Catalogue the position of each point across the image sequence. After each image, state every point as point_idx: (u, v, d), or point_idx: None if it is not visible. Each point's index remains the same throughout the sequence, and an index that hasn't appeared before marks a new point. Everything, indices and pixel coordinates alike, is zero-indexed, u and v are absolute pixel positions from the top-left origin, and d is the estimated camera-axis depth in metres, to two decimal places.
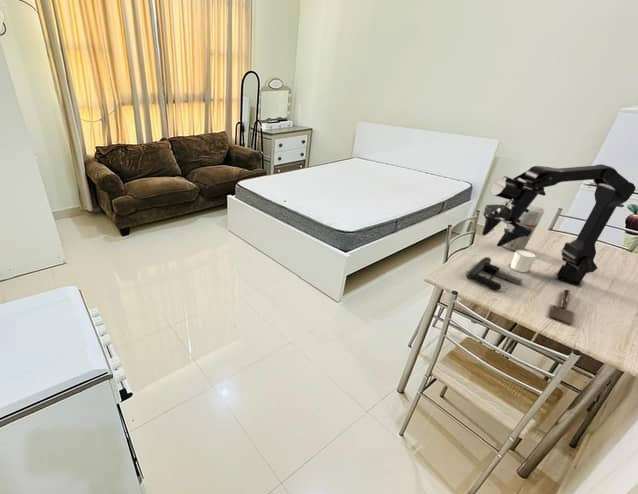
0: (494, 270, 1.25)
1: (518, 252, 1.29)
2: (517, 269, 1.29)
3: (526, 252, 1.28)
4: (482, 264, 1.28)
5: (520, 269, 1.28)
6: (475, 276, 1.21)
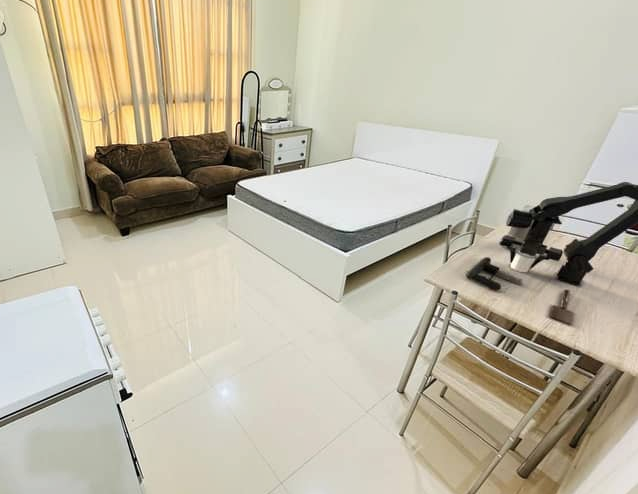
0: (494, 270, 1.25)
1: (518, 252, 1.29)
2: (517, 269, 1.29)
3: None
4: (482, 264, 1.28)
5: (520, 269, 1.28)
6: (475, 276, 1.21)
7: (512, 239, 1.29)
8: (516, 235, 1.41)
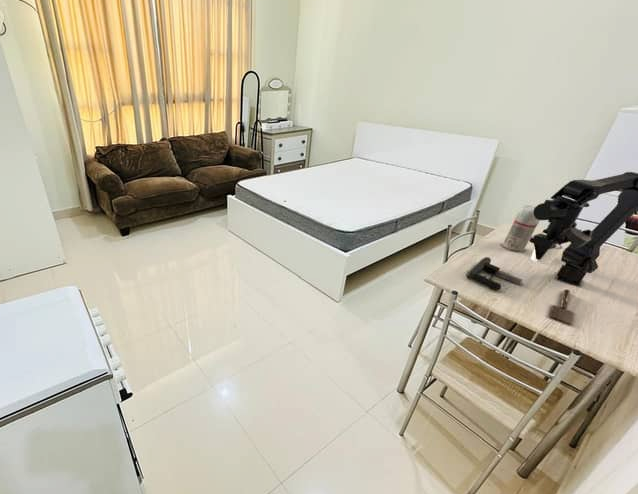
0: (494, 270, 1.25)
1: None
2: (550, 263, 1.15)
3: None
4: (482, 264, 1.28)
5: None
6: (475, 276, 1.21)
7: (550, 237, 1.09)
8: (516, 235, 1.41)
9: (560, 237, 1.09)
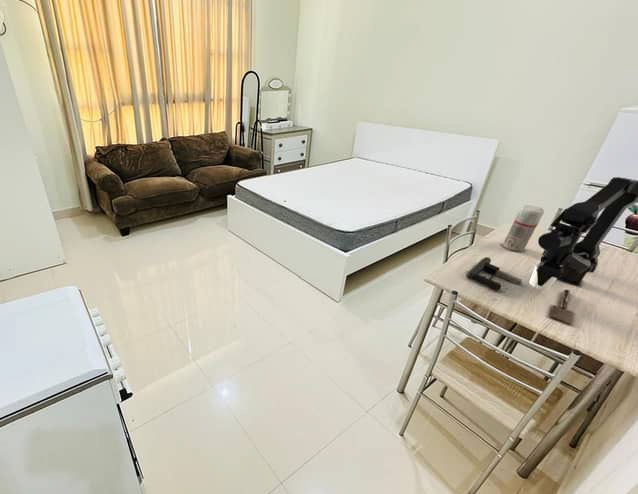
0: (494, 270, 1.25)
1: None
2: (549, 287, 1.13)
3: None
4: (482, 264, 1.28)
5: None
6: (475, 276, 1.21)
7: (556, 265, 1.06)
8: (516, 235, 1.41)
9: (563, 264, 1.06)
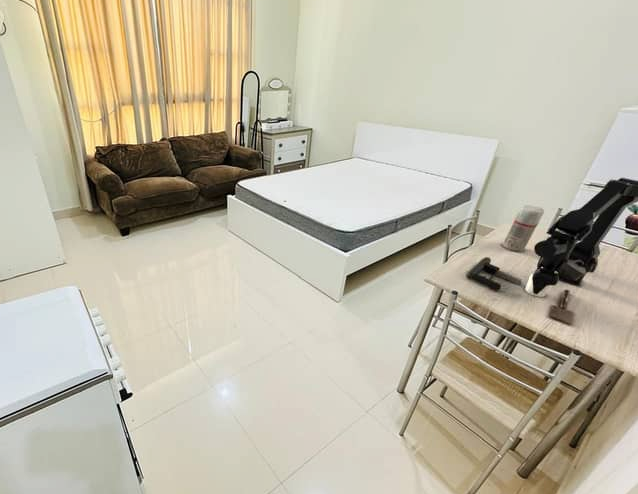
0: (494, 270, 1.25)
1: None
2: (545, 294, 1.15)
3: None
4: (482, 264, 1.28)
5: None
6: (475, 276, 1.21)
7: (551, 272, 1.07)
8: (516, 235, 1.41)
9: (558, 271, 1.08)
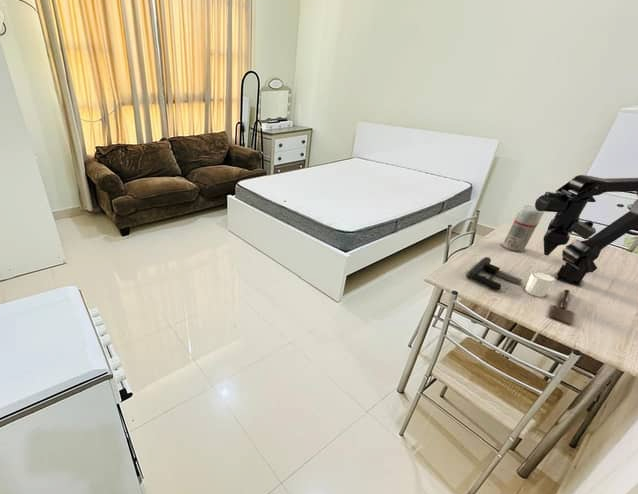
0: (494, 270, 1.25)
1: (545, 280, 1.12)
2: (545, 294, 1.15)
3: (540, 275, 1.14)
4: (482, 264, 1.28)
5: None
6: (475, 276, 1.21)
7: (562, 232, 1.10)
8: (516, 235, 1.41)
9: (569, 231, 1.11)
